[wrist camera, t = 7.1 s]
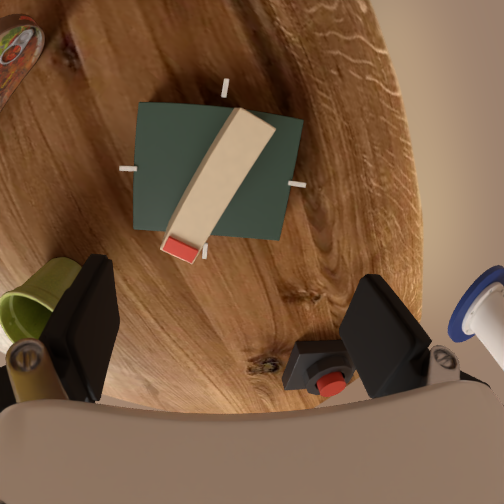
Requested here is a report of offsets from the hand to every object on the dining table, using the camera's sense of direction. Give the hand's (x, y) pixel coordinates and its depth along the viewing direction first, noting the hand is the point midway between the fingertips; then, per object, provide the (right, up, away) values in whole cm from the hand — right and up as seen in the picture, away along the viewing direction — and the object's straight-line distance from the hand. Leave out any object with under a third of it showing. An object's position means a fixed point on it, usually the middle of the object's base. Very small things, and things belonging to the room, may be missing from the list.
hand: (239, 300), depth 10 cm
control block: (+10, -13, +27) cm, 32 cm away
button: (+11, -15, +24) cm, 30 cm away
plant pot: (-19, -1, +16) cm, 25 cm away
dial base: (-3, +9, +13) cm, 16 cm away
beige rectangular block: (-2, +7, +10) cm, 13 cm away
